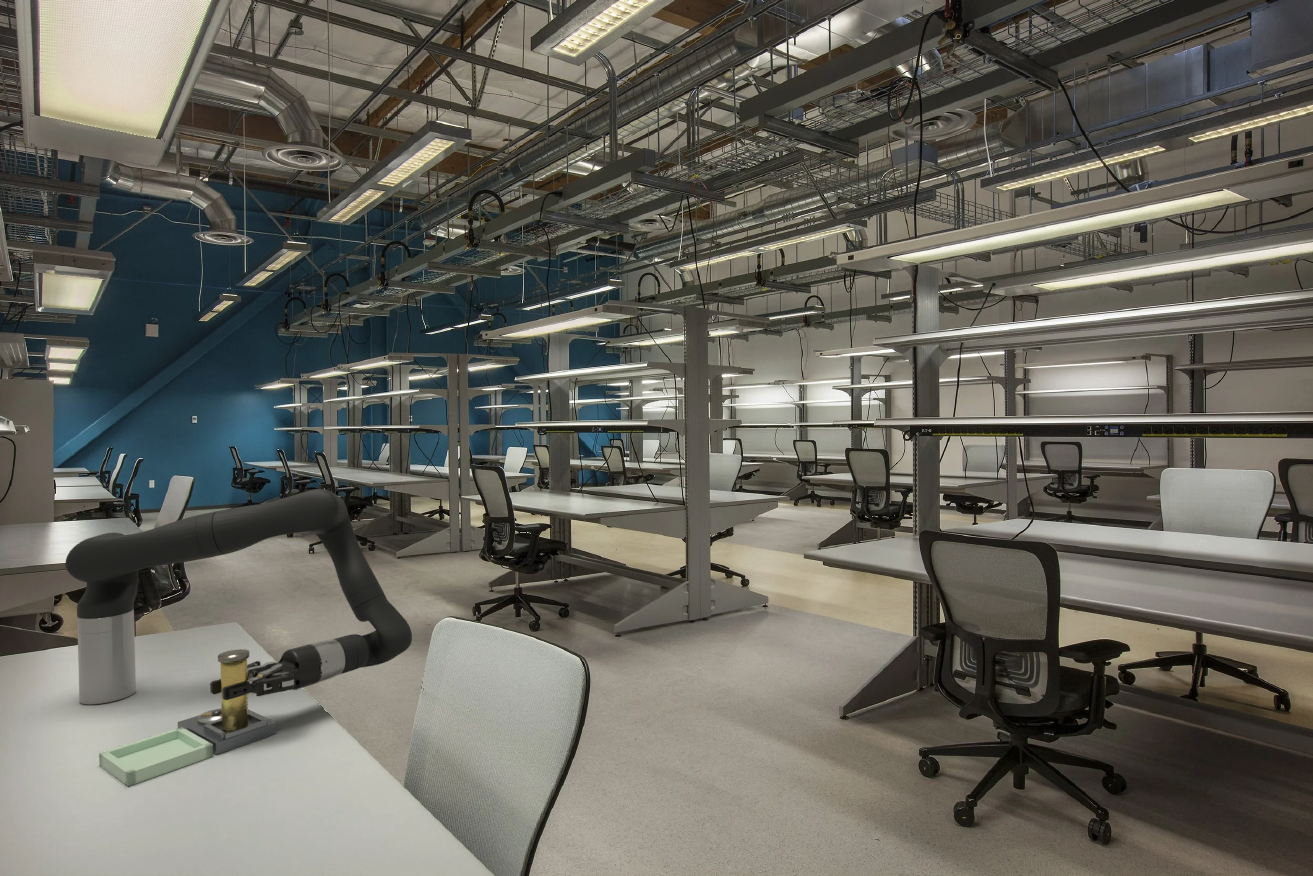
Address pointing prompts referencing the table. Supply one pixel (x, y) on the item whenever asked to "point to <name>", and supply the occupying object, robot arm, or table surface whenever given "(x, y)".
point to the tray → (155, 755)
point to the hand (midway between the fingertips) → (217, 691)
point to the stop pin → (232, 674)
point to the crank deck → (223, 740)
